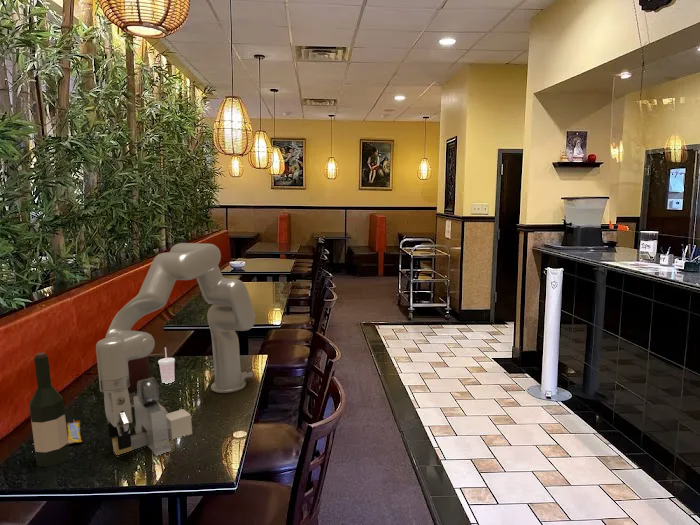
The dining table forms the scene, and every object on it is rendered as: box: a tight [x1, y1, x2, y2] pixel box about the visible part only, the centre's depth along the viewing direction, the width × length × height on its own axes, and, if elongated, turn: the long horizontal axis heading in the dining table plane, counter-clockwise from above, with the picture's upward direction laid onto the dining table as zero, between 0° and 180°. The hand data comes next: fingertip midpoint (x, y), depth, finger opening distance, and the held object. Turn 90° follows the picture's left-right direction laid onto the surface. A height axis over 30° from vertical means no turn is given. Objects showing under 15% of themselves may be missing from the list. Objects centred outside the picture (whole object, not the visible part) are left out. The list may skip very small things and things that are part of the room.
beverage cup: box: [157, 347, 176, 384], centre depth 196 cm, size 6×6×14 cm
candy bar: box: [66, 420, 83, 446], centre depth 155 cm, size 17×4×2 cm, turn 29°
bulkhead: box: [133, 376, 172, 457], centre depth 147 cm, size 4×19×19 cm, turn 39°
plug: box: [111, 408, 193, 456], centre depth 148 cm, size 21×6×6 cm, turn 129°
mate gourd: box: [128, 355, 151, 409], centre depth 178 cm, size 16×14×20 cm
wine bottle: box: [28, 352, 71, 468], centre depth 139 cm, size 8×8×30 cm
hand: (119, 441), depth 143 cm, fingers open, 9 cm apart
